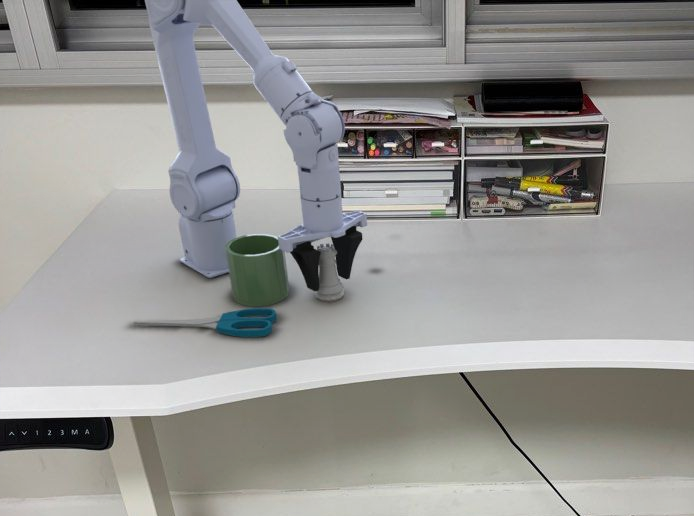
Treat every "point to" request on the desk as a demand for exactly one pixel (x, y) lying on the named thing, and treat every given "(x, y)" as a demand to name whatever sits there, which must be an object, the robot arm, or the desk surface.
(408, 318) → the desk surface
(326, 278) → the rook chess piece
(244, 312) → the scissors
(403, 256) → the desk surface
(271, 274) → the planter
